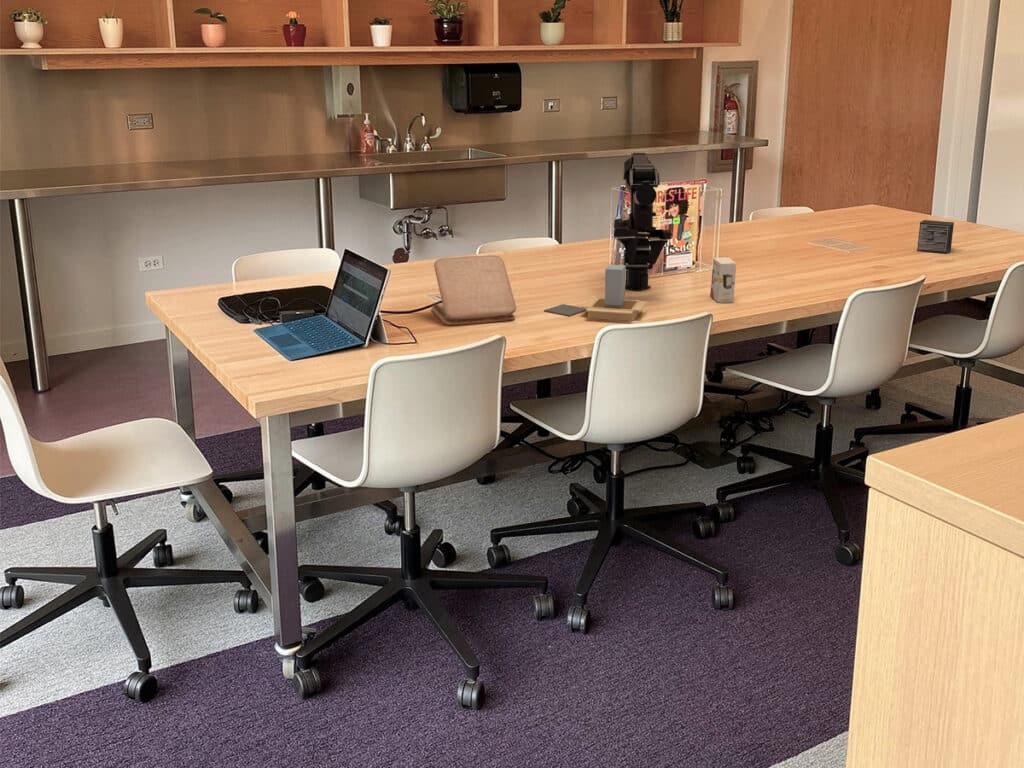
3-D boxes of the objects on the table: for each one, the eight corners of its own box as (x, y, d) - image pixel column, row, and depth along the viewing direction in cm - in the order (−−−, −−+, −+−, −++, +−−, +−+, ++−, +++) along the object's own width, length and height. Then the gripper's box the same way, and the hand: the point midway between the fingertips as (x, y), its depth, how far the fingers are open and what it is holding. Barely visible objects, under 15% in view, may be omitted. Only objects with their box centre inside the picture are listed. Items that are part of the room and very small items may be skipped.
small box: (951, 251, 395) (955, 221, 392) (947, 254, 390) (951, 224, 387) (920, 248, 401) (923, 219, 397) (916, 251, 395) (919, 221, 392)
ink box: (709, 296, 333) (711, 257, 329) (726, 295, 333) (728, 256, 330) (717, 303, 325) (719, 263, 321) (734, 302, 325) (737, 262, 321)
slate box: (608, 309, 316) (609, 264, 312) (624, 310, 315) (625, 265, 311) (604, 314, 311) (605, 268, 307) (620, 315, 310) (621, 269, 306)
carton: (592, 304, 323) (592, 295, 322) (649, 308, 319) (649, 298, 318) (578, 319, 307) (578, 309, 306) (638, 324, 303) (638, 313, 302)
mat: (563, 305, 323) (563, 304, 323) (588, 310, 318) (588, 308, 317) (544, 311, 316) (544, 310, 316) (569, 316, 311) (569, 315, 311)
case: (445, 328, 301) (444, 269, 296) (429, 309, 320) (428, 254, 315) (518, 322, 307) (518, 265, 302) (497, 304, 326) (497, 250, 321)
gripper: (643, 213, 332) (643, 266, 333) (600, 209, 320) (599, 263, 321) (672, 210, 324) (671, 264, 325) (628, 206, 311) (628, 262, 312)
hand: (642, 263), depth 321 cm, fingers open, 9 cm apart
